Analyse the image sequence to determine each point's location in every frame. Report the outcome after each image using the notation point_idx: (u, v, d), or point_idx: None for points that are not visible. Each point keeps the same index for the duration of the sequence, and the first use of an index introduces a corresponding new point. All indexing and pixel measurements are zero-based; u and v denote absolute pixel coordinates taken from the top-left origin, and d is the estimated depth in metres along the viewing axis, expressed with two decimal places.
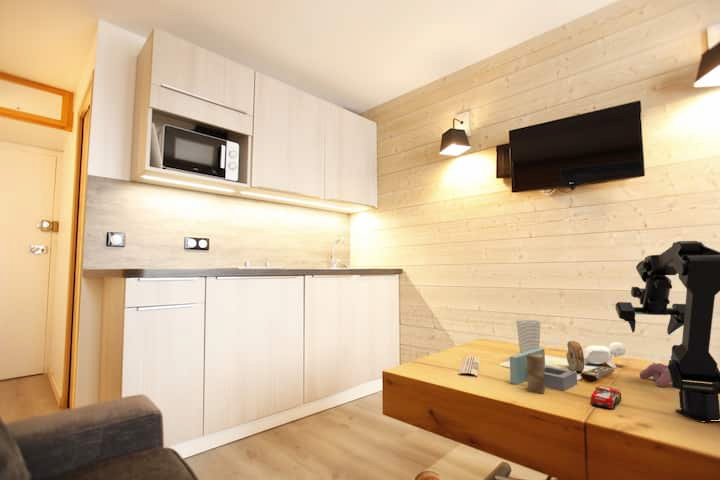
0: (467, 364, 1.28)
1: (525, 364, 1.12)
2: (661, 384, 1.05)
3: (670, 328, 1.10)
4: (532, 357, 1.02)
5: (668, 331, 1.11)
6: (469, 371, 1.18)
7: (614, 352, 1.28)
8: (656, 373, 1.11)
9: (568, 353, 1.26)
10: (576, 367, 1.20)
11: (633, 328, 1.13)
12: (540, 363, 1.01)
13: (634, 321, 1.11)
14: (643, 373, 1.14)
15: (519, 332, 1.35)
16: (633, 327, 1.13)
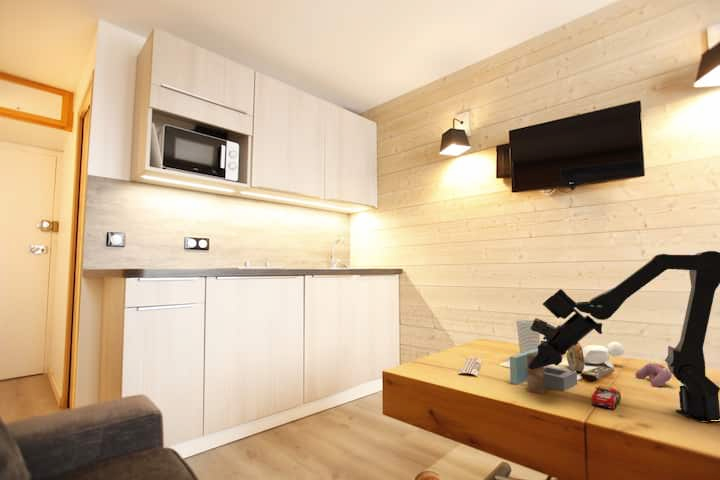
0: (469, 364, 1.27)
1: (525, 364, 1.12)
2: (657, 383, 1.06)
3: None
4: (532, 357, 1.02)
5: None
6: (469, 371, 1.18)
7: (612, 352, 1.29)
8: (652, 373, 1.12)
9: (568, 353, 1.26)
10: (576, 367, 1.20)
11: None
12: None
13: None
14: (639, 373, 1.14)
15: (519, 332, 1.35)
16: None
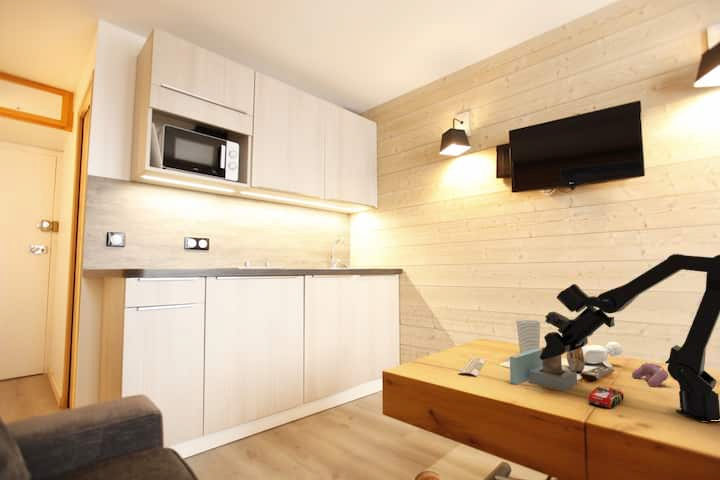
0: (470, 364, 1.27)
1: (525, 364, 1.12)
2: (653, 383, 1.06)
3: None
4: None
5: None
6: (469, 371, 1.18)
7: (610, 352, 1.29)
8: (648, 373, 1.12)
9: (568, 353, 1.26)
10: (576, 367, 1.20)
11: None
12: None
13: None
14: (636, 373, 1.14)
15: (519, 332, 1.35)
16: (551, 357, 1.05)
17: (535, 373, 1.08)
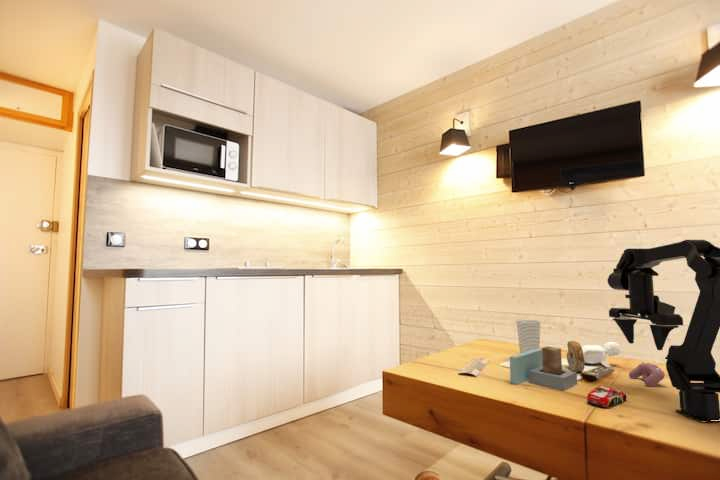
0: (472, 364, 1.27)
1: (525, 364, 1.12)
2: (650, 383, 1.06)
3: None
4: (547, 349, 1.09)
5: None
6: (469, 371, 1.18)
7: (609, 352, 1.29)
8: (645, 372, 1.12)
9: (568, 353, 1.26)
10: (576, 367, 1.20)
11: (625, 334, 1.06)
12: (554, 355, 1.07)
13: (618, 321, 1.07)
14: (632, 372, 1.14)
15: (519, 332, 1.35)
16: (624, 332, 1.06)
17: (535, 373, 1.08)
